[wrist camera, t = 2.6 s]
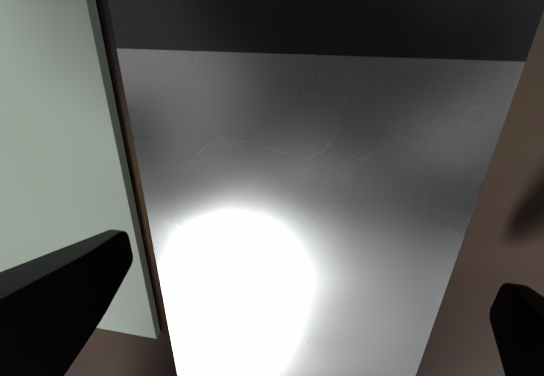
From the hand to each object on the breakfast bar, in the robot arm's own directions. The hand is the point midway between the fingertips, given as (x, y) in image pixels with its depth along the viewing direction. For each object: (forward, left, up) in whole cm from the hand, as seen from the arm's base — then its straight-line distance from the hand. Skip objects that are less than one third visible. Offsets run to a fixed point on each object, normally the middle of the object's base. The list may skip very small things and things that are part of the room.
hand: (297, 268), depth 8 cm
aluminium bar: (0, 0, -1) cm, 1 cm away
